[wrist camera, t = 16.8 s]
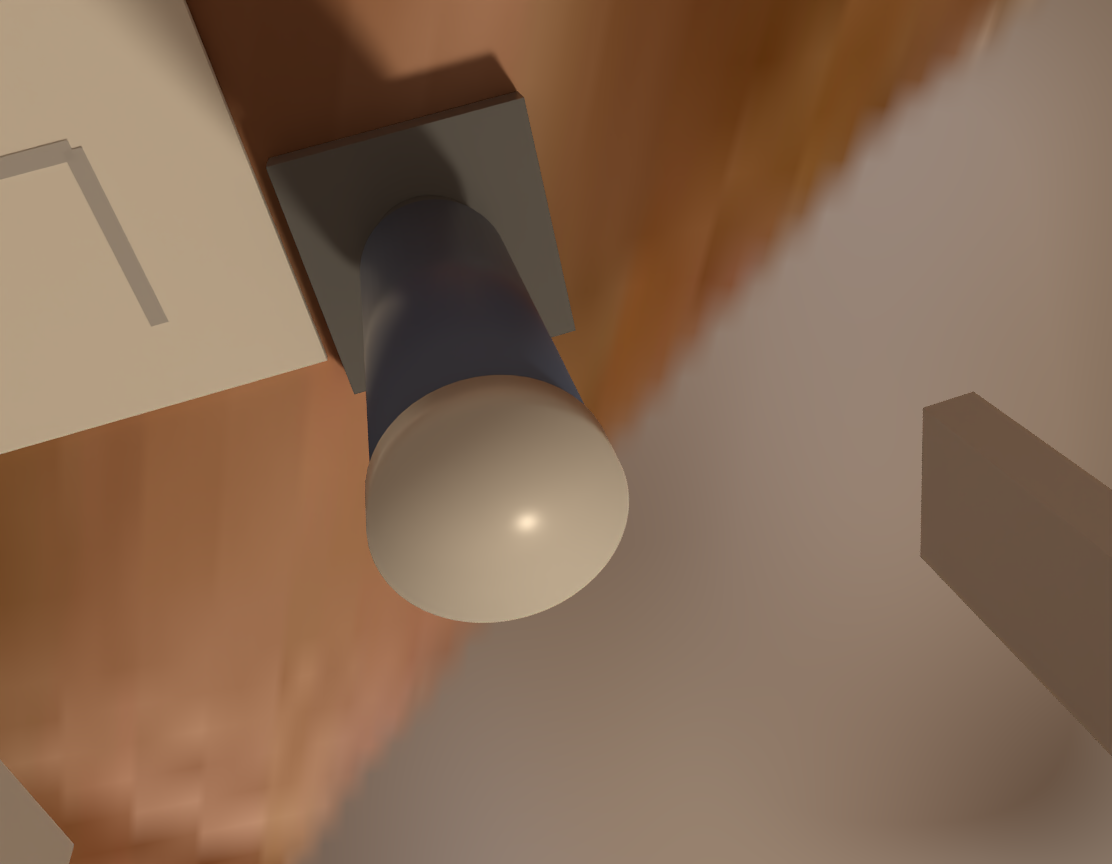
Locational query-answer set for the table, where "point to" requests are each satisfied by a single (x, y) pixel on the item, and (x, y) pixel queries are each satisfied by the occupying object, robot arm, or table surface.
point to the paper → (128, 224)
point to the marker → (475, 428)
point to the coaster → (411, 171)
